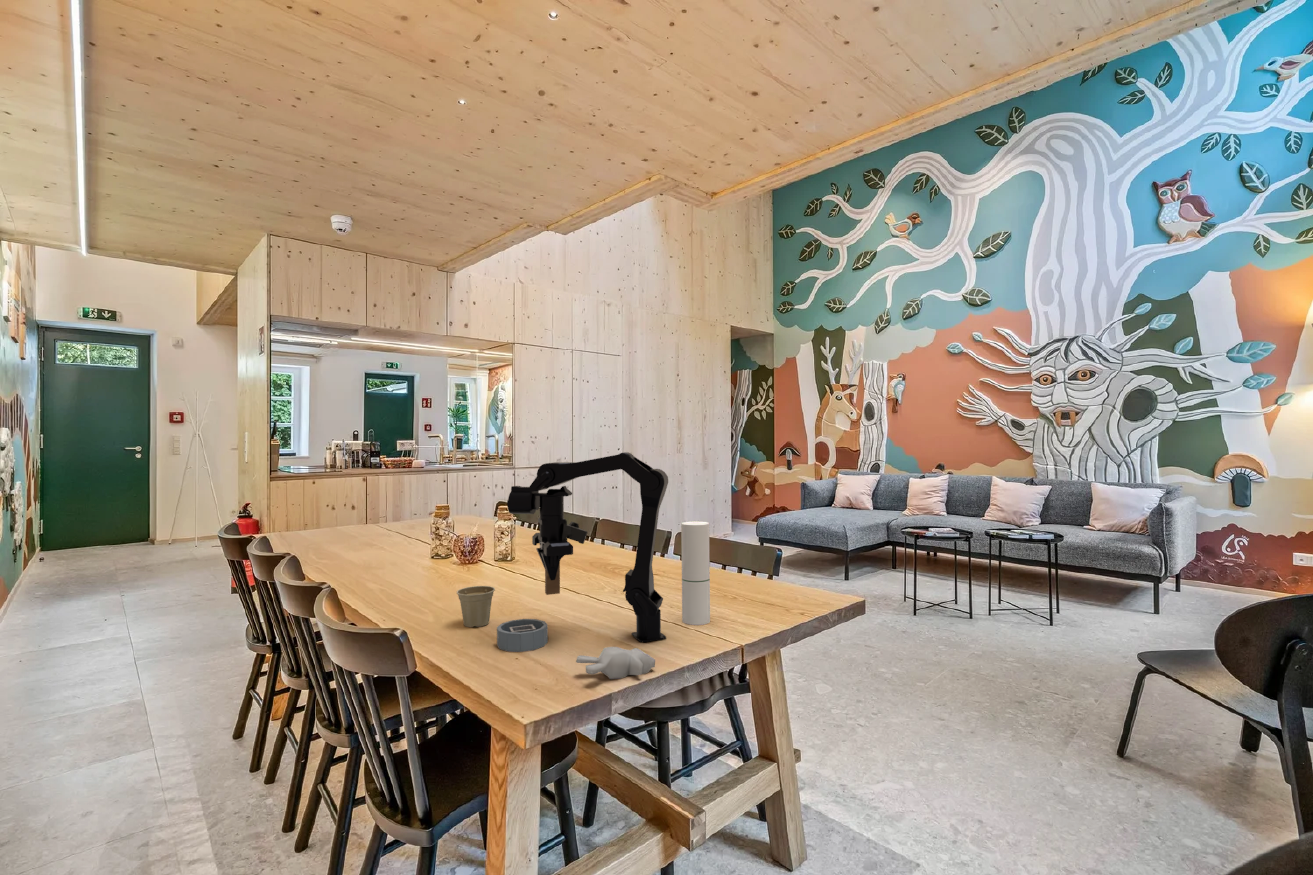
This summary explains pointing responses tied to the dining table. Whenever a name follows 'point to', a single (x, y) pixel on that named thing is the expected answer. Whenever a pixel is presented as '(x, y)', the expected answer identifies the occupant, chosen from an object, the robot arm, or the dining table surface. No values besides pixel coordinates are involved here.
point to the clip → (522, 628)
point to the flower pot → (476, 605)
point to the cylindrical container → (695, 573)
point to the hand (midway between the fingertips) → (551, 579)
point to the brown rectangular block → (552, 583)
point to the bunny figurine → (618, 662)
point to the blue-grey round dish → (522, 636)
